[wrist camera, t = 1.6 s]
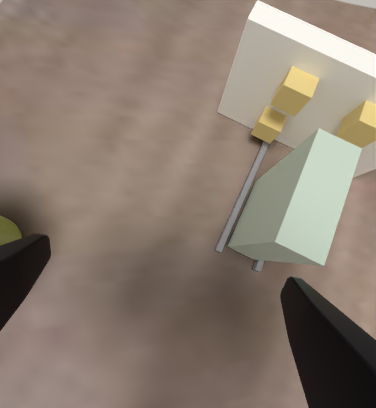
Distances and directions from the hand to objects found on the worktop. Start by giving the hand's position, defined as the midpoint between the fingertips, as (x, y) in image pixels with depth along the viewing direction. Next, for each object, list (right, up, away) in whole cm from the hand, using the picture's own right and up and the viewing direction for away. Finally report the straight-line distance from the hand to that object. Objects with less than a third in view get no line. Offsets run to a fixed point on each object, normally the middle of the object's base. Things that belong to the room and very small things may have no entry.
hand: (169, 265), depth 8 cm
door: (+8, +1, +16) cm, 18 cm away
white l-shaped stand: (+12, +8, +18) cm, 23 cm away
